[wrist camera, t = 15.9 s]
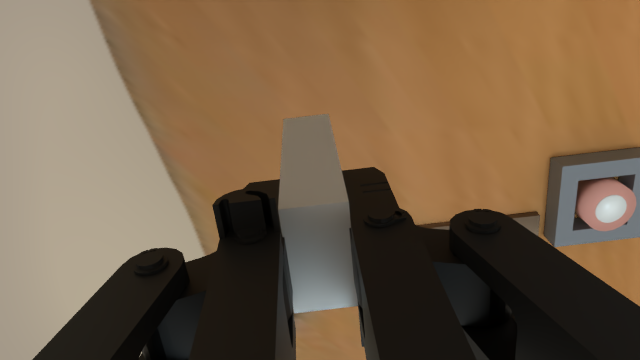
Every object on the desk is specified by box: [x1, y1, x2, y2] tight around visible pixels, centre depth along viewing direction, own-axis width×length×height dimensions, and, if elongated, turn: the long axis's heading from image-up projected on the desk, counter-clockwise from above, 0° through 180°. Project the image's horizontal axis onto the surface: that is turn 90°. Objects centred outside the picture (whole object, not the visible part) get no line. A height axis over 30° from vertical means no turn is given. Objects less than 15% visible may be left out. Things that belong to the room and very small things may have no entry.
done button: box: [575, 177, 636, 231], centre depth 49 cm, size 5×5×3 cm
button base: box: [544, 147, 640, 247], centre depth 50 cm, size 9×9×2 cm
